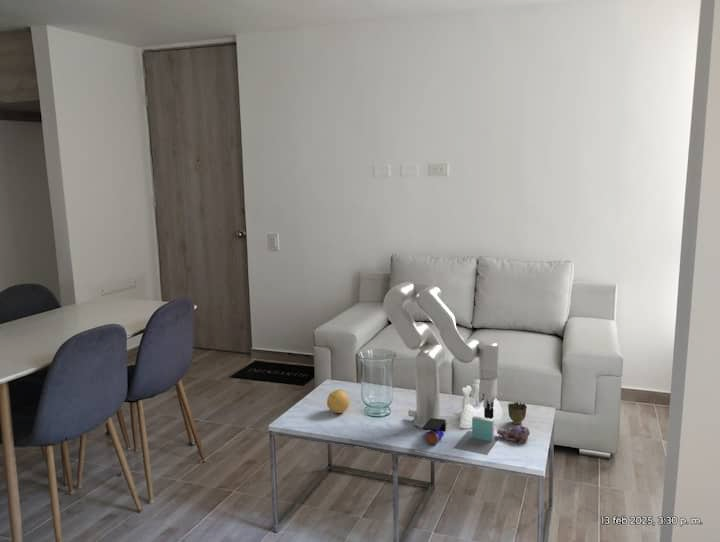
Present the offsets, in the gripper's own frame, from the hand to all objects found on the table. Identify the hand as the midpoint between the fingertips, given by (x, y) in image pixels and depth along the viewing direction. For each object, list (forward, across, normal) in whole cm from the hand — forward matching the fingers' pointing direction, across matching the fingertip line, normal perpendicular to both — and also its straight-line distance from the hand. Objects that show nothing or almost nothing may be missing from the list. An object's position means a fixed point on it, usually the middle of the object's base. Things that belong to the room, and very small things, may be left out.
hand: (488, 417), depth 233 cm
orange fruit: (+6, +8, -65) cm, 66 cm away
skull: (+6, +2, +10) cm, 12 cm away
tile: (+6, +7, 0) cm, 9 cm away
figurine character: (+6, +14, -17) cm, 23 cm away
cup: (+7, -13, +8) cm, 17 cm away
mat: (+6, +11, -1) cm, 13 cm away
